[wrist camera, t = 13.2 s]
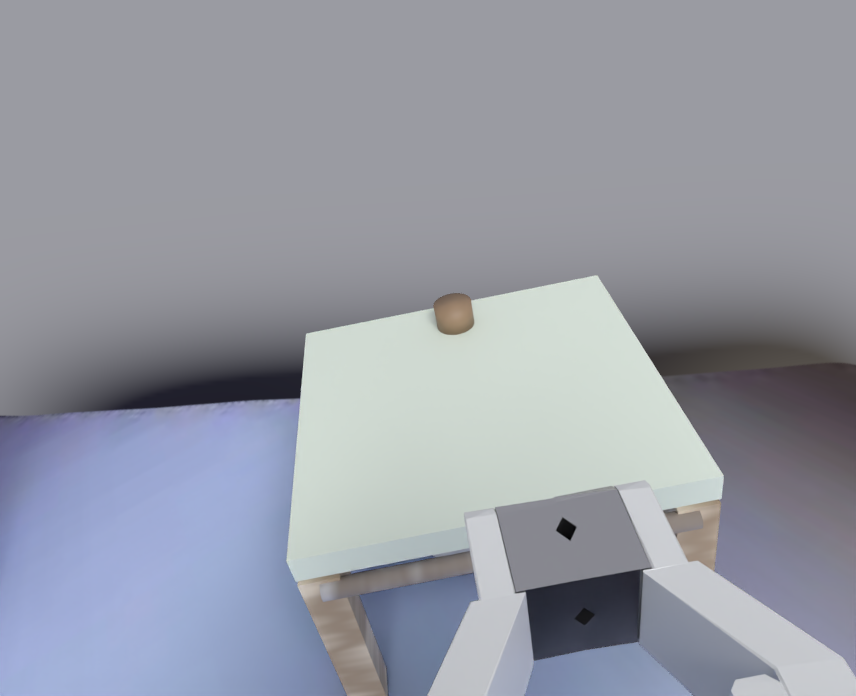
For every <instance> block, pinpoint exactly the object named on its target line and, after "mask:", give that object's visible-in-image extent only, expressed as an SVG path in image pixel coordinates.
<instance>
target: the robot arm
mask: <svg viewBox="0 0 856 696" xmlns="http://www.w3.org/2000/svg"><path fill="white" fill-rule="evenodd" d="M464 521H465V527H466V532H467V538H468V543H469V549H470V555H471V560H472V566H473V571H474V577H475V582H476V588H477V593H478V599H479V600H477V601H472V602H470V604H469V606H468V608H467V610H466V612H465V615H464V617H463V619H462V621H461V623H460V625H459V628H458V630H457V632H456V634H455V636H454V638H453V641H452V643H451V645H450V647H449V649H448V651H447V654H446V656H445V658H444V660H443V662H442V664H441V667H440V669H439V671H438V673H437V675H436V677H435V680H434V682H433V684H432V686H431V688H430V690H429V693H428V695H427V696H525V693H526V689H527V686H528V683H529V680H530V676H531V673H532V670H533V667H534V661H536V660H540V659H545V658H550V657H555V656H559V655H564V654H569V653H574V652H578V651H583V650H589V649H595V648H602V647H609V646H615V645H622V644H628V643H635V642H639V645H640V646H641V647H642V648H643V649H644V650H646V651H647V652H648V653H649V654H650V655H651V656H652V657H653V658H654V659H655V660H656V661H657V662H658V663H659V664H660V665H661V666H662V667H663V668H665V669H666V670H667V671H668V672H669V673H670V674H671V675H672V676H673V677H674V678H675V679H676V680H677V681H678V682H679V683H680V684H681V685H683V686H684V687H685V688H686V689H687V690H688V691H689V692H690V693H691V694H692V695H693V696H856V677H855V676H854V674H853V673H852V671H851V669H850V668H849V666H848V665H847V663H846V661H845V660H844V658H843V657H841V656H840V655H838V654H837V653H835V652H834V651H832V650H831V649H829V648H828V647H826V646H825V645H823V644H822V643H820V642H819V641H817V640H816V639H814V638H813V637H811V636H810V635H808V634H807V633H805V632H804V631H802V630H801V629H799V628H798V627H796V626H795V625H793V624H792V623H790V622H789V621H787V620H786V619H784V618H783V617H781V616H780V615H778V614H777V613H775V612H774V611H772V610H771V609H769V608H768V607H766V606H765V605H763V604H762V603H760V602H759V601H757V600H756V599H754V598H753V597H752V596H750V595H749V594H747V593H746V592H744V591H743V590H741V589H740V588H738V587H737V586H735V585H734V584H732V583H731V582H729V581H728V580H726V579H725V578H723V577H722V576H720V575H719V574H717V573H716V572H714V571H713V570H711V569H710V568H708V567H707V566H705V565H704V564H702V563H701V562H699V561H692V562H688V560H687V558H686V556H685V554H684V552H683V550H682V548H681V546H680V544H679V542H678V540H677V538H676V536H675V534H674V532H673V530H672V528H671V526H670V524H669V522H668V520H667V518H666V516H665V514H664V512H663V510H662V508H661V506H660V504H659V502H658V500H657V498H656V496H655V494H654V492H653V490H652V488H651V486H650V484H648V483H647V482H646V481H645V480H643V481H638V482H632V483H627V484H621V485H616V486H614V487H613V486H608V487H602V488H597V489H592V490H587V491H582V492H577V493H572V494H567V495H562V496H556V497H553V498H551V499H545V500H538V501H532V502H525V503H519V504H512V505H506V506H500V507H495V509H494V508H489V509H483V510H477V511H471V512H465V513H464Z"/></svg>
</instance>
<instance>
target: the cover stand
mask: <svg viewBox="0 0 856 696" xmlns="http://www.w3.org/2000/svg"><path fill="white" fill-rule="evenodd" d="M720 508H721V502H720V501H719V499H718V500H713V501H708V502H703V503H698V504H693V505H688V506H682V507H677V508H672V509H667V510H663V512H664V514H665V516H666V518H667V520H668V522H669V524H670V526H671V528H672V530H673V532H674V534H675V536H676V538H677V540H678V542H679V544H680V546H681V548H682V550H683V552H684V554H685V556H686V558H687V560H688V562H692V561H699V562H701V563H702V564H704V565H705V566H707V567H708V568H710V569H711V570H713V571H714V568H715V558H716V548H717V538H718V528H719V518H720ZM470 573H474V571H473V566H472V560H471V555H470V551H466V552H461V553H456V554H451V555H446V556H441V557H436V558H430V559H425V560H420V561H415V562H410V563H405V564H400V565H394V566H389V567H384V568H379V569H374V570H369V571H364V572H359V573H353V574H351V572H350V571H349V572H344V573H338V574H333V575H328V576H323V577H318V578H313V579H308V580H303V581H298V585H297V586H298V588H299V590H300V593H301V595H302V597H303V599H304V601H305V604H306V606H307V608H308V610H309V612H310V615H311V617H312V619H313V621H314V623H315V626H316V628H317V630H318V632H319V634H320V637H321V639H322V641H323V643H324V645H325V648H326V650H327V652H328V654H329V656H330V659H331V661H332V663H333V665H334V667H335V670H336V672H337V674H338V676H339V678H340V681H341V683H342V685H343V687H344V690H345V692H346V694H347V696H388V687H387V668H386V665H385V663H384V660H383V657H382V655H381V652H380V650H379V647H378V644H377V642H376V639H375V636H374V634H373V631H372V628H371V626H370V623H369V620H368V618H367V615H366V612H365V610H364V607H363V604H362V602H361V599H360V596H359V595H362V594H367V593H372V592H377V591H382V590H388V589H393V588H398V587H403V586H408V585H413V584H419V583H424V582H429V581H434V580H439V579H444V578H449V577H455V576H460V575H465V574H470Z"/></svg>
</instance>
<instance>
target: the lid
mask: <svg viewBox="0 0 856 696" xmlns="http://www.w3.org/2000/svg"><path fill="white" fill-rule="evenodd" d="M723 478H724V476H723V474H722V472H721V471H720V469H719V468H718V466H717V464H716V463H715V461H714V460H713V458H712V457H711V455H710V453H709V452H708V450H707V449H706V447H705V445H704V444H703V442H702V441H701V439H700V438H699V436H698V434H697V433H696V431H695V430H694V428H693V426H692V425H691V423H690V422H689V420H688V419H687V417H686V415H685V414H684V412H683V411H682V409H681V407H680V406H679V404H678V403H677V401H676V399H675V398H674V396H673V395H672V393H671V392H670V390H669V388H668V387H667V385H666V384H665V382H664V380H663V379H662V377H661V376H660V374H659V373H658V371H657V369H656V368H655V366H654V365H653V363H652V361H651V360H650V358H649V357H648V355H647V354H646V352H645V351H644V349H643V347H642V346H641V344H640V342H639V341H638V339H637V338H636V336H635V335H634V333H633V331H632V330H631V328H630V327H629V325H628V323H627V322H626V320H625V319H624V317H623V316H622V314H621V312H620V311H619V309H618V308H617V306H616V305H615V303H614V301H613V300H612V298H611V296H610V295H609V293H608V292H607V290H606V289H605V287H604V285H603V284H602V282H601V281H600V279H599V277H598V276H597V275H596V276H591V277H586V278H582V279H576V280H571V281H566V282H562V283H557V284H552V285H546V286H541V287H536V288H531V289H527V290H522V291H517V292H512V293H507V294H502V295H497V296H492V297H487V298H482V299H477V300H472V301H471V299H470V297H468V296H467V295H465V294H460V293H454V294H448V295H445V296H442V297H440V298H439V299H438V300H436V301H435V303H434V308H432V309H427V310H422V311H417V312H413V313H407V314H402V315H397V316H392V317H387V318H382V319H377V320H372V321H368V322H362V323H358V324H353V325H347V326H342V327H338V328H332V329H328V330H322V331H317V332H313V333H308V334H306V341H305V354H304V364H303V376H302V387H301V399H300V410H299V422H298V433H297V445H296V456H295V468H294V479H293V491H292V502H291V514H290V525H289V537H288V548H287V560H286V562H287V564H288V566H289V568H290V571H291V573H292V575H293V577H294V579H295V582H297V581H303V580H308V579H313V578H318V577H323V576H328V575H333V574H338V573H344V572H349V571H354V570H359V569H364V568H369V567H374V566H380V565H385V564H390V563H395V562H400V561H405V560H410V559H415V558H421V557H426V556H431V555H436V554H441V553H446V552H451V551H457V550H462V549H467V548H469V543H468V538H467V532H466V527H465V521H464V513H465V512H471V511H477V510H483V509H489V508H494V509H495V507H500V506H506V505H512V504H519V503H525V502H532V501H538V500H545V499H551V498H553V497H556V496H562V495H567V494H572V493H577V492H582V491H587V490H592V489H597V488H602V487H608V486H613V487H614V486H616V485H621V484H627V483H632V482H638V481H643V480H645V481H646V482H647V483H648V484H650V486H651V488H652V490H653V492H654V494H655V496H656V498H657V500H658V502H659V504H660V506H661V508H662V510H667V509H672V508H677V507H682V506H688V505H693V504H698V503H703V502H708V501H713V500H718V499H721V498H722V488H723Z"/></svg>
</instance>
